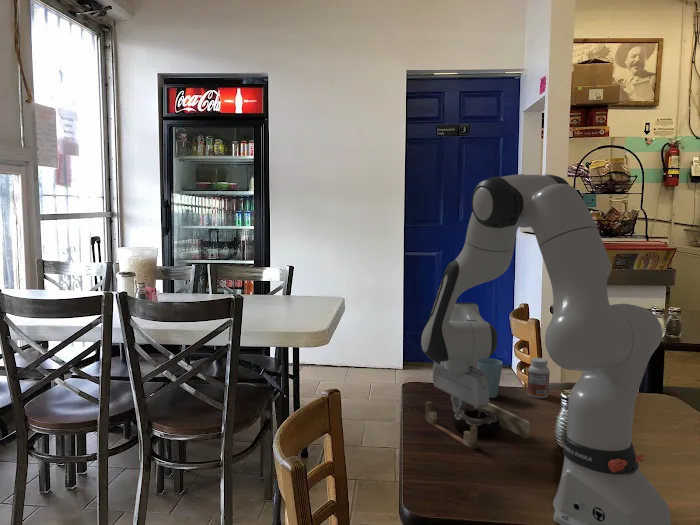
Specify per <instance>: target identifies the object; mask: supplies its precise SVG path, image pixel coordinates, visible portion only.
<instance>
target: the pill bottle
mask: <svg viewBox="0 0 700 525" xmlns="http://www.w3.org/2000/svg"><path fill="white" fill-rule="evenodd" d="M530 361H531V363H530V364H531V365H530V366H528V370H527V386H526V387H527V388H526V390H527V392H526V393H527V395H528V396H529V397H531V398H535V399H545V398H547V397H548V396H549V393H550V392H549V391H550V390H549V389H550V369H549V367H548V362H549V361H548V360H547V359H546V358H542V357H532V358H531V360H530Z"/></svg>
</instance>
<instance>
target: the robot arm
mask: <svg viewBox="0 0 700 525" xmlns="http://www.w3.org/2000/svg"><path fill="white" fill-rule="evenodd" d="M471 209H472V212H471V215H470V218H469V222H468V224H467V225H468V226H467V229H466V230H467V231H466V235H465V240H464V244H463V248H462V249H461V251H460V253H459V255H458V256H457V257H456V258H455V259H454V260H452V261H450V262H449V263H448V264H447V266H446V268H445V270H444V273H443V275H442V278H441V280H440V284H439V286H438V290H437V293H436V296H435V298H434V301H433V304H432V308H431V310H430V313H429V317H428V319H427V321H426V323H425V324H424V327H423V329H422V333H421V339H420V344H421V350H422V352H423V353H424V355H426V357H427V358H428V359H430V360H431V361H432V362H433V366H432V383H433V386H434V388H436V389H439V390H441V391H442V392H445V393H447V394H449V395H450V401H451V403H452V411H453V412H454V413H456V412H457V411H459V410H461V409H465V408H467V405H468V404H469V405H471V406H473V408H474V407H477V408H480V407H485V406H487V405H488V403H490V398H489V387H488V381H487V377H486V376H485V374H484V372H483V371H481V370H478V359H485V358H490V357H492V355H493V354H494V353H495V352H496V351H497V347H498V332H497V330H496V328H495V327H494V326H493V325H492V324H491V323H490V322H489V321H486V320H485V319H483V317H482V315H480V309H479V305H478V304H477V303H475V302H457V300H458V298H459V297H460V296H461V295H462V293H464V292H466V291H467V290H469V289H471V288H473V287H476V286H478V285H482V284H484V283H488V282H490V281H493V280H495V279H498V278H499V277H501V275H503V274H504V273H505V272H506V271H507V270H508V269H509V267H510V265H511V262H512V259H513V256H514V249H515V244H516V243H515V242H516V236H517V231H518V229H519V228H531V229H532V230H533V233H534V236H535V238H536V242H537V245H538V247H539V251H540V254H541V256H542V260H543V262H544V264H545V269H546V271H547V275H548V277H549V281H550V284H551V290H552V298H553V299H552V300H553V301H552V302H553V309H552V310H553V311H552V318H551V319H550V322H549V324H548V326H547V328H546V330H545V333H544V334H545V335H544V344H545V348H546V351H547V354H548V355H549V357H550V359H552V361H553V362H554V363H555V364H556V365H557V366H558V367H561V368H563V369H564V370H569V371H578V372H582V373H581V375H580V377H579V379H578V380H577V382H576V383H575V384H574V385H573V386H572V388H571V390H570V392H569V395H568V404H567V419H566V420H567V421H566V431H565V432H564V434H563V441H562V454H563V455H564V457H563V465H562V469H561V474H560V479H559V484H558V488H557V491H556V494H555V496H554V498H553V501H552V507H553V508H554V514H553V521H554V522H556V523H557V524H559V525H672V522H671V521H672V520H671V518H672V517H671V513H670V511H671V510H670V507H669V504H668V502H667V501H666V500H665V499H664V498H663V496H662V495H661V493H659V492H658V490H656V488H655V487H654V486H653V485H652V483H651V482H650V481H649V480H648V478H647V477H646V476H645V474H643V472H642V471H641V470H640V465H639V463H641V462H644V461H645V459H644V457H645V454H641V455H640V454H639V455H637V454H636V451H635V448H634V444H633V442H632V435H633V425H634V414H635V413H634V412H635V405H636V400H637V398H638V397H637V395H638V393H639V390H640V387H641V383H642V380H643V379H644V378H643V377H644V375H645V372H646V369H647V366H648V363H649V361H650V359H651V357H653V354H654V353H655V351H656V350H657V348H658V347H659V346H660V344H661V342H662V339H663V329H662V325H661V322H660V320H659V319H658V317H657V316H656V315H655V313H653V312H652V311H651V310H649V309H648V308H645V307H643V306H639V305H634V304H628V303H618V304H610V301H609V294H608V278H609V276H610V275H611V272H612V267H613V266H612V263H611V260H610V257H609V255H608V252H607V249H606V246H605V244H604V242H603V240H602V237H601V235H600V232H599V229H598V226H597V225H596V222H595V220H594V218H593V216H592V213H591V211H590V210H589V208H588V206H587V204H586V202H585V201H584V199H583V198H582V196H581V195H580V194H579V192H578V191H577V189H576V188H575V187H573V186H571V185H570V184H569V182H567V180H566V179H565V178H563V177H560V176H558V175H554V174H548V173H547V174H542V175H541V174H540V175H539V174H523V173H521V174H512V175H511V174H510V175H504V176H493V177H489V178H487V179H484V180H481V181H480V182H479V183H478V184H476V186H475V187H474V189H473V192H472V196H471Z"/></svg>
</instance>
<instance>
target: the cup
mask: <svg viewBox="0 0 700 525" xmlns="http://www.w3.org/2000/svg"><path fill="white" fill-rule="evenodd" d="M503 364H504V362H503V361H502V360H500V359H496V358H490V357H489V358H485V359H478V370H481V371H483V372H484V374H485V376H486V377H487V381H488V387H489V399H495V398H497V397H498V394H499V388H500V382H501V376H502V375H501V374H502V370H503Z"/></svg>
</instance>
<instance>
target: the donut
mask: <svg viewBox="0 0 700 525" xmlns="http://www.w3.org/2000/svg"><path fill="white" fill-rule="evenodd" d="M452 422H453V425H454V426H455V428H456V429H457V430H458V431H459V432H462V433H464V431H469V432H470V427H472V426H475V427H477V428H478V429H477V436H488V435H489V436H490V435H492V434H494V433H495V432H497V431H498V430H499V428H500V427H501V425H500V421H499V419H498V417H497V416H496V415H495V414H494V413H492V412H490V411H488V410H484V409H479V408H474V407H465V409H461V410H459V411H457V412H454V415H453V416H452Z"/></svg>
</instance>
